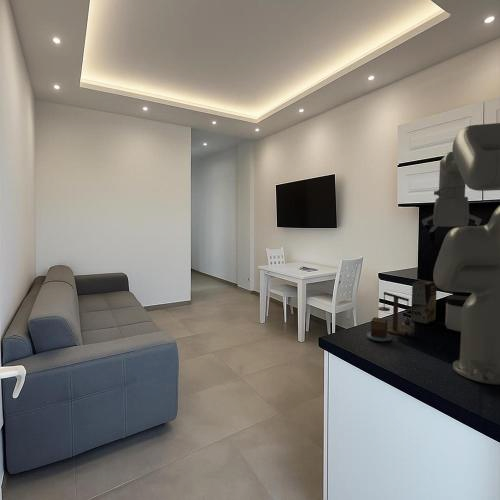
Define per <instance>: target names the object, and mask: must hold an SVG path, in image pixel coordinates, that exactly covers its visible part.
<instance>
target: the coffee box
mask: <svg viewBox="0 0 500 500" xmlns="http://www.w3.org/2000/svg"><path fill="white" fill-rule="evenodd" d="M411 284H412V286H411V287H412V288H411V309H410V311H411V313H410V321H413V322H416V323H417V322H418V323H421V324H425V325H427V324H429V323H430V322H433V321H435V320H436V313H437V312H436V310H437V291H438V290H437V288H438V287H437V286H436V285H435V283H434V281H432V280H431V281H430V280H421V279H420V280H417V281H413V282H411Z"/></svg>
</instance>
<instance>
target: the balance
mask: <svg viewBox="0 0 500 500" xmlns="http://www.w3.org/2000/svg"><path fill="white" fill-rule="evenodd" d="M385 296H389V297H392V298H393V309H392V311H393V312H392V326H387V333H388V334H390V335H391V334H392V335H396V336H397V335H398V336H404V337H405V336H406V334H407V329H408V328H409V329H411V328H414V324H413V323H411V319H409V303H407V308H406V309H407V311H406V318H404V322H402V323H400V324H401V325H400V326H401V327H403V328H405V329H403V328H399V327H398V324H399V323H398V322H399V300H402V301H406V302H409V300H410V298H407V297H403V296H401V295H396V294H393V293H389V292H387V291H384V292H383V306H379V307H378V310H379V311H381V312H390V311H391V308H390V307H385V301H386V297H385ZM406 328H407V329H406Z"/></svg>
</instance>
